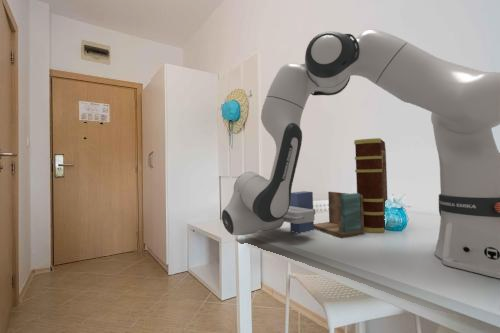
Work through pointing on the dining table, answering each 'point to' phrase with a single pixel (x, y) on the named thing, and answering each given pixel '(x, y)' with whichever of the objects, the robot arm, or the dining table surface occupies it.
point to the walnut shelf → (344, 215)
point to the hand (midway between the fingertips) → (303, 209)
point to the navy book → (302, 201)
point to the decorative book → (372, 182)
